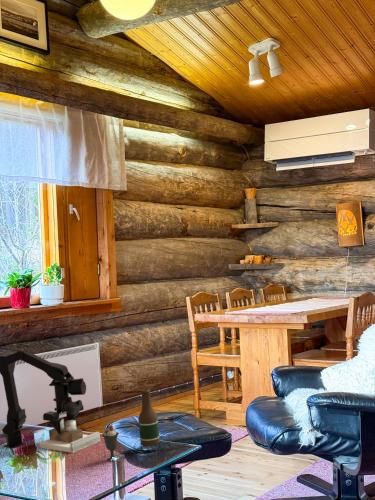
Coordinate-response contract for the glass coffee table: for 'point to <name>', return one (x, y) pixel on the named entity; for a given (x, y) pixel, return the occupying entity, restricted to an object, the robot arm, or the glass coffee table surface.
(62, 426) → the glass caddy
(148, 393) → the beer bottle
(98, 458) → the glass coffee table surface
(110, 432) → the sundae
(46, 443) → the cream flat block
